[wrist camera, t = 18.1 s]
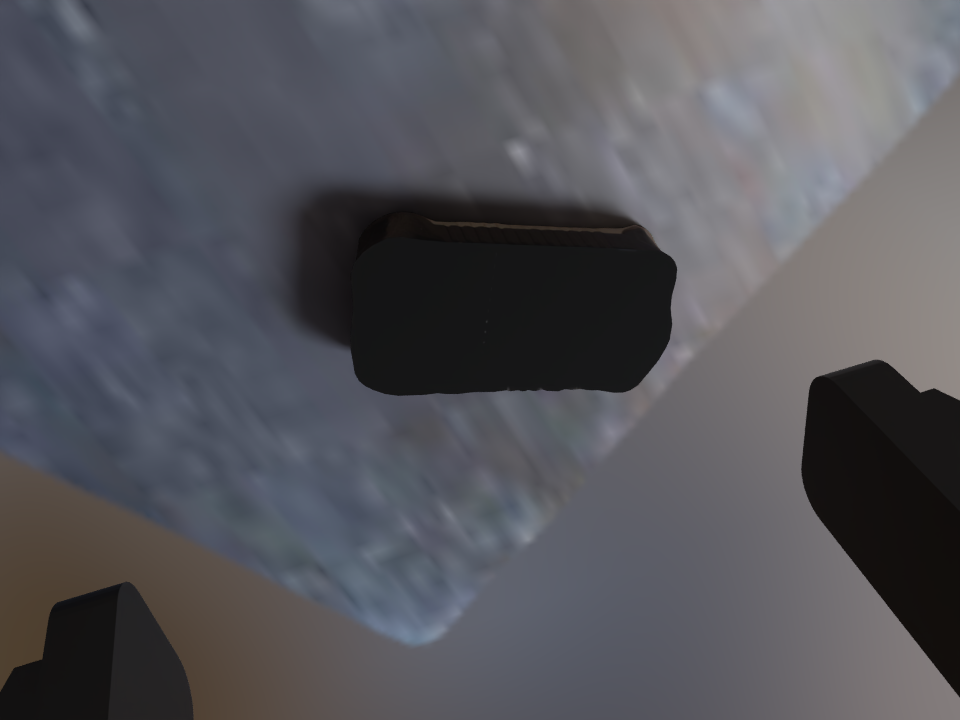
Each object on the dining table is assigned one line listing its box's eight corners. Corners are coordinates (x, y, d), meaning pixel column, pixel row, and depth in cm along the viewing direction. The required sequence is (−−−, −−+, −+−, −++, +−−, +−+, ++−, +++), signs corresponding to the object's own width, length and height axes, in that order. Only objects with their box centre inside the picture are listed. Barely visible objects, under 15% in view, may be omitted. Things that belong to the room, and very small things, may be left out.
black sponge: (335, 354, 45) (345, 398, 42) (352, 201, 41) (365, 238, 38) (625, 355, 50) (651, 395, 48) (669, 219, 46) (702, 253, 43)
